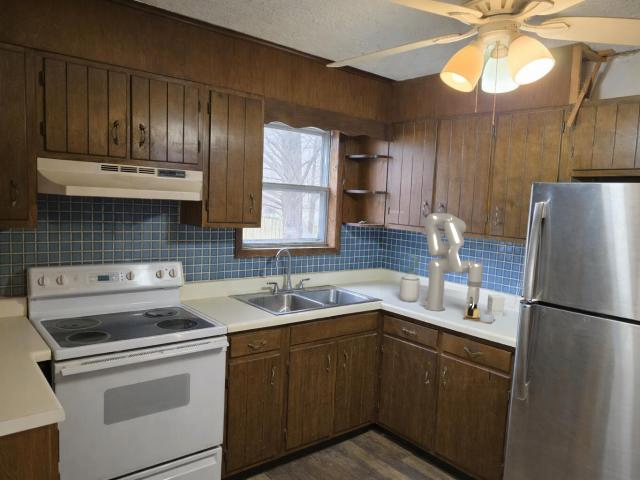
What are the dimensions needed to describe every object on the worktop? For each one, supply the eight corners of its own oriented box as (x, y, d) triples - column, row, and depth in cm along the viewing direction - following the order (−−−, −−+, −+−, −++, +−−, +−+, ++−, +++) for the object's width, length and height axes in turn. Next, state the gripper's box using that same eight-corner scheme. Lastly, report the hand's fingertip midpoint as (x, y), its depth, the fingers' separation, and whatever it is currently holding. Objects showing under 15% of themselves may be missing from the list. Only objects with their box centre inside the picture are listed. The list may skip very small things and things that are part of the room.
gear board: (461, 321, 267) (462, 309, 266) (467, 316, 278) (468, 305, 277) (490, 326, 258) (491, 314, 258) (495, 321, 269) (496, 310, 269)
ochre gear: (464, 316, 269) (464, 309, 268) (467, 313, 275) (467, 307, 275) (476, 318, 265) (477, 311, 265) (479, 316, 271) (480, 309, 271)
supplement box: (498, 315, 284) (499, 295, 283) (503, 318, 277) (505, 297, 276) (486, 315, 284) (487, 294, 283) (490, 318, 277) (492, 297, 276)
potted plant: (404, 297, 322) (407, 252, 319) (421, 300, 315) (424, 254, 312) (396, 300, 312) (399, 254, 309) (413, 303, 305) (417, 256, 302)
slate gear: (480, 321, 263) (481, 314, 262) (478, 318, 270) (479, 311, 269) (494, 322, 262) (494, 315, 261) (491, 319, 269) (492, 312, 268)
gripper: (471, 281, 278) (469, 310, 279) (463, 285, 263) (461, 316, 265) (484, 283, 274) (482, 312, 275) (477, 287, 259) (474, 318, 261)
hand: (472, 314), depth 270 cm, fingers closed on ochre gear, 7 cm apart
